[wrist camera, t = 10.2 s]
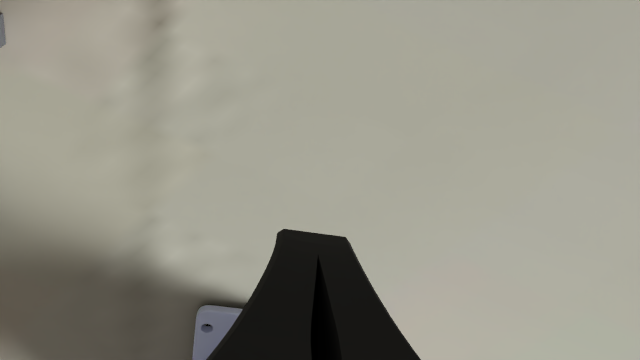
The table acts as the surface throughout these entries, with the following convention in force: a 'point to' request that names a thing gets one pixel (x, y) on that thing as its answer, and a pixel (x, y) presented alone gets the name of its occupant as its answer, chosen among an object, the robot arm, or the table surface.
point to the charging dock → (2, 31)
